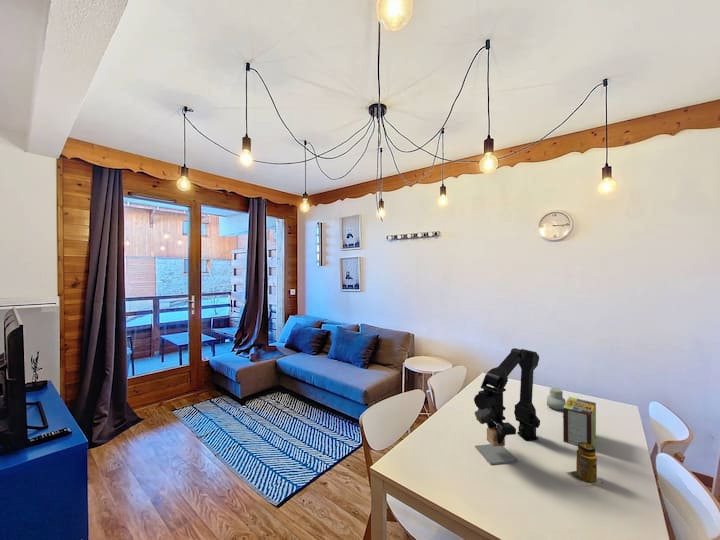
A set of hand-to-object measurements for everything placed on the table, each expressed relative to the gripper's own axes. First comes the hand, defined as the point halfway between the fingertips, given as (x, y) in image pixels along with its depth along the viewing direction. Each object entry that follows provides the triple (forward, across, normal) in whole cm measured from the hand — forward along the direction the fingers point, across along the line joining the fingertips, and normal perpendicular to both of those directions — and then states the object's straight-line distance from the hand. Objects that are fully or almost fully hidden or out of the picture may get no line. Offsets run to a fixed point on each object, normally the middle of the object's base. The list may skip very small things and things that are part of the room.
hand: (495, 440), depth 127 cm
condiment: (+6, +18, +24) cm, 31 cm away
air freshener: (+6, -34, +57) cm, 67 cm away
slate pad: (+6, 0, 0) cm, 6 cm away
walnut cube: (+1, 0, 0) cm, 1 cm away
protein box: (+6, -5, +44) cm, 45 cm away
